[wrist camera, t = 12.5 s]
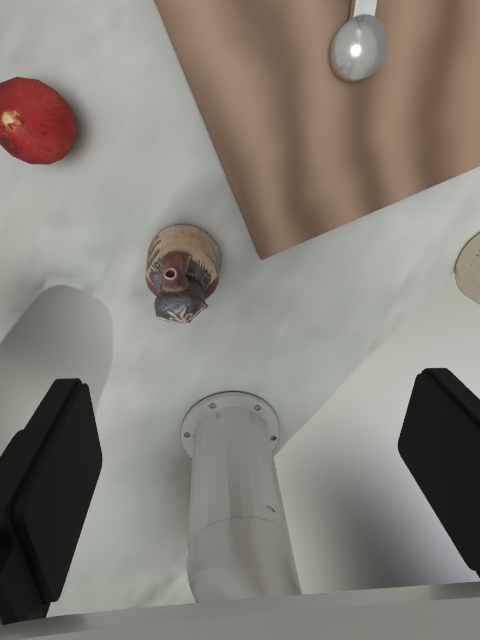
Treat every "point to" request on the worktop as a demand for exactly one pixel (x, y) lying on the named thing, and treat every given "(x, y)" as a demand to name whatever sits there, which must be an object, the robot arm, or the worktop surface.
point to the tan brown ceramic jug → (182, 271)
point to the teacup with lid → (469, 270)
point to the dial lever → (359, 43)
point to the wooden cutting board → (329, 106)
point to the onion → (35, 121)
